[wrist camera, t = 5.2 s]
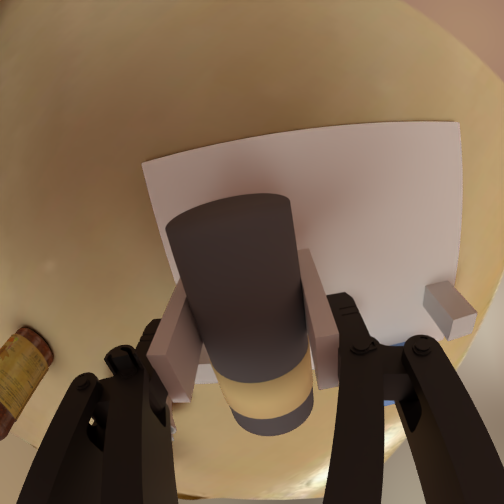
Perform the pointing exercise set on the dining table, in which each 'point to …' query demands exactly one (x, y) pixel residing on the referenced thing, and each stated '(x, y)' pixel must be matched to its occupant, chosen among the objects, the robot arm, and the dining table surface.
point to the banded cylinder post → (248, 306)
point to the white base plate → (347, 215)
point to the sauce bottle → (20, 374)
